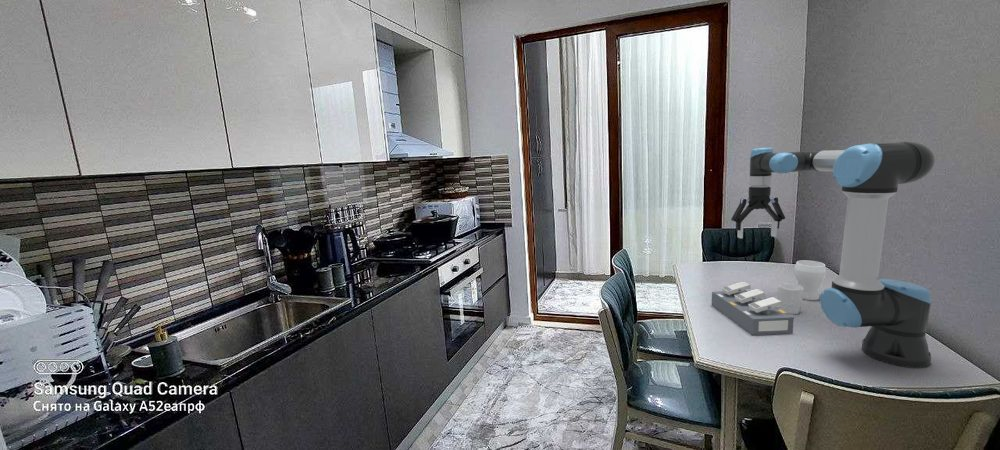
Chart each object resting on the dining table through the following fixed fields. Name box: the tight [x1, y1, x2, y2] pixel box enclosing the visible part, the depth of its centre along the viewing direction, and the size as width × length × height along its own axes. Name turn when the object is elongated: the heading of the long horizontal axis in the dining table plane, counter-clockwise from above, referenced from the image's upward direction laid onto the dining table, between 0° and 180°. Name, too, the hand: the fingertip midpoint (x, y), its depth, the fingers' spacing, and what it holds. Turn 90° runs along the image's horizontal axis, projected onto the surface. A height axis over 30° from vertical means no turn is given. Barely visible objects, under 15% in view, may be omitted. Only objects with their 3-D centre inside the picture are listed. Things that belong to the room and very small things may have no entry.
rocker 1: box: [721, 281, 752, 295], centre depth 160 cm, size 5×9×2 cm, turn 89°
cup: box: [793, 259, 827, 301], centre depth 169 cm, size 11×11×15 cm
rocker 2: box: [734, 288, 766, 303], centre depth 152 cm, size 5×9×2 cm, turn 89°
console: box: [711, 290, 795, 336], centre depth 152 cm, size 28×14×8 cm, turn 179°
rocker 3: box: [748, 296, 782, 313], centre depth 143 cm, size 5×9×2 cm, turn 89°
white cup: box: [778, 283, 803, 315], centre depth 157 cm, size 8×8×10 cm
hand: (756, 237), depth 165 cm, fingers open, 13 cm apart
